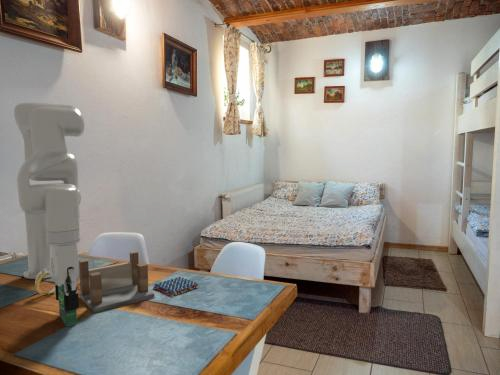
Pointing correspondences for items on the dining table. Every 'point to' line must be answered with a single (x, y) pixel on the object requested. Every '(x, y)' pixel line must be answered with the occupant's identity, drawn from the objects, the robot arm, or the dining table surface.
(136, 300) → the wooden block stand
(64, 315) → the coffee box
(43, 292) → the bracelet
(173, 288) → the woven mat
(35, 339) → the dining table surface
